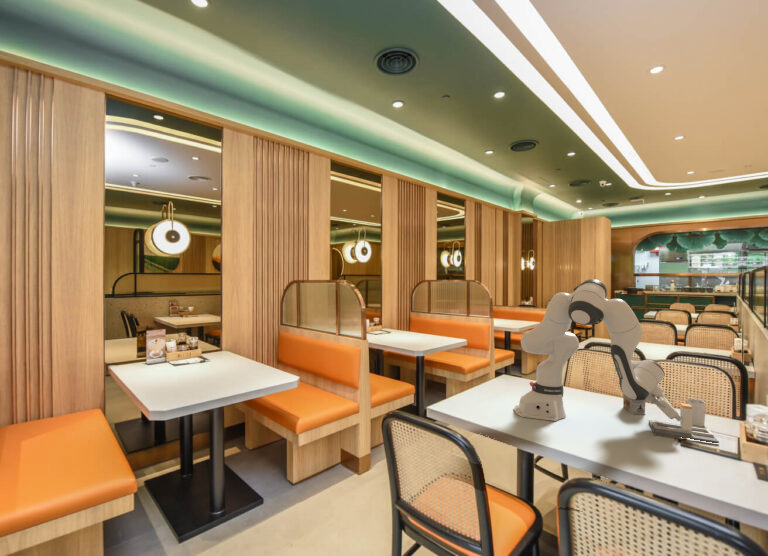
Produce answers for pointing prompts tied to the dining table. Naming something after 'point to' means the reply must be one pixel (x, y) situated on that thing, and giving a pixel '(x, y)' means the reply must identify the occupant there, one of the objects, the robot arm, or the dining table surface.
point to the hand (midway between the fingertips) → (679, 419)
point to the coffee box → (634, 405)
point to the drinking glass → (697, 411)
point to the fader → (686, 416)
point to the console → (681, 431)
